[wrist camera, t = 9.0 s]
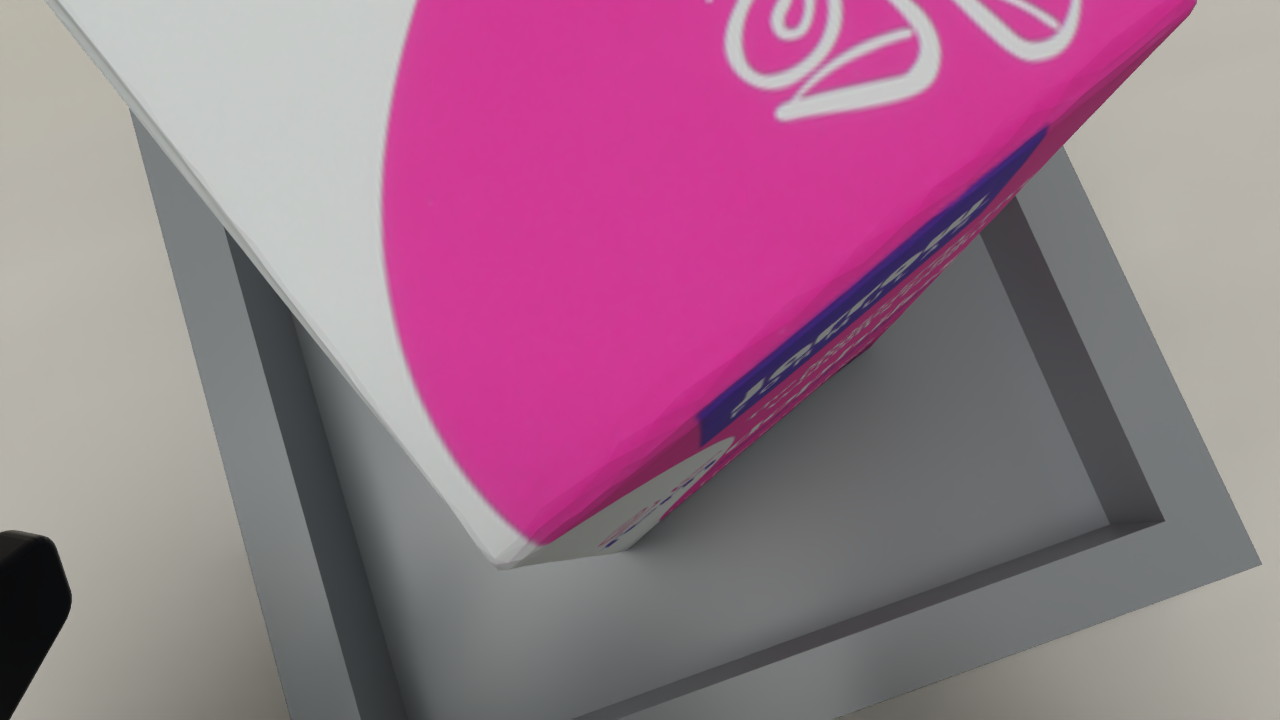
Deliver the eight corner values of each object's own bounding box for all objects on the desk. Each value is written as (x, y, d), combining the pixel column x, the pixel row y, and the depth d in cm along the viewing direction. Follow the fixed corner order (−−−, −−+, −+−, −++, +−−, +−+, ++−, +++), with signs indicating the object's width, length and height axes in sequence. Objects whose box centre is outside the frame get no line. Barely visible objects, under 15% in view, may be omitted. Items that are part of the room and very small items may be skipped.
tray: (1177, 562, 17) (1262, 564, 14) (394, 844, 17) (337, 898, 14) (862, -124, 19) (886, -226, 17) (192, 118, 19) (114, 52, 17)
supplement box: (629, 568, 17) (463, 612, 5) (423, 305, 18) (-72, -113, 6) (890, 351, 17) (1247, -32, 6) (672, 108, 18) (614, -611, 7)
